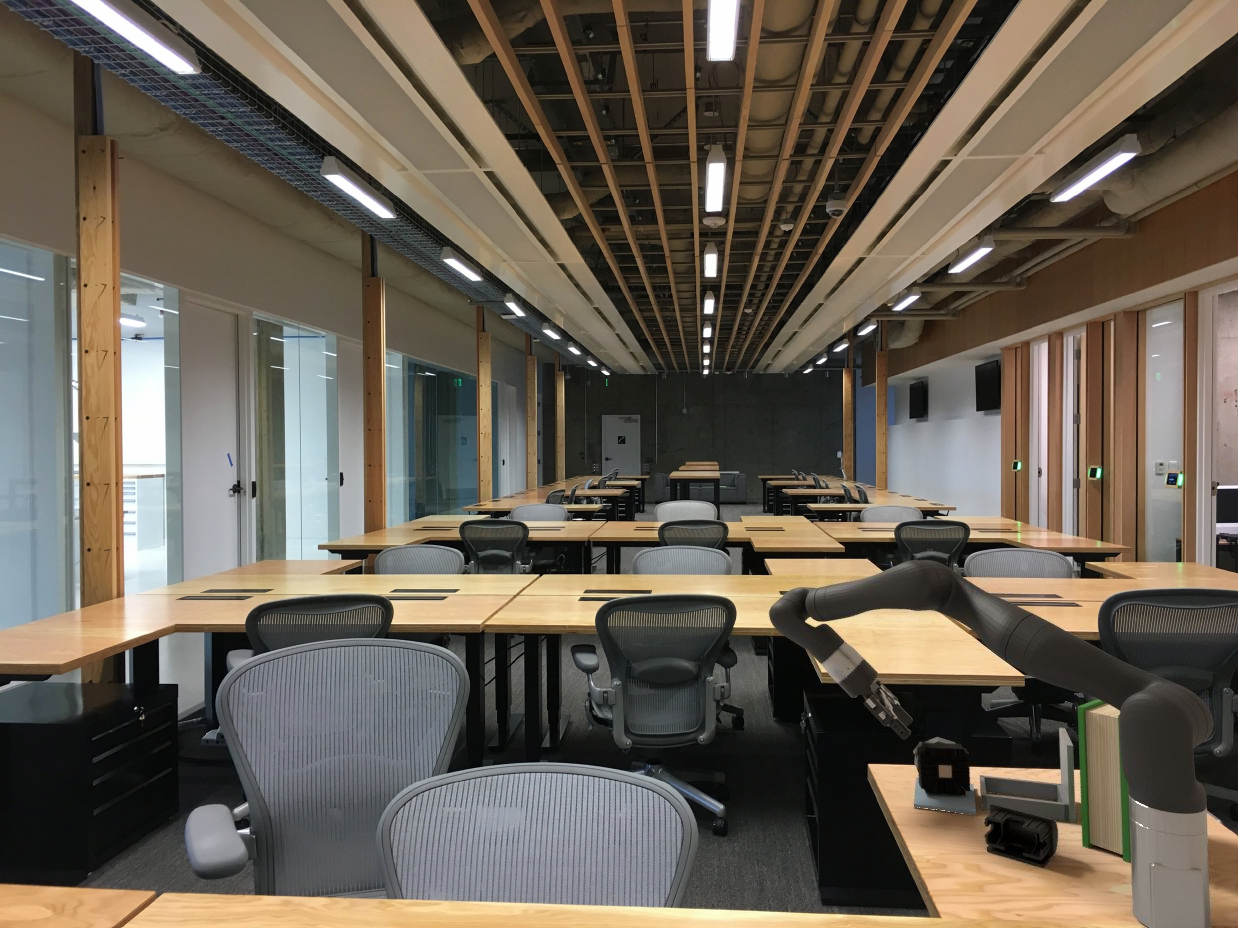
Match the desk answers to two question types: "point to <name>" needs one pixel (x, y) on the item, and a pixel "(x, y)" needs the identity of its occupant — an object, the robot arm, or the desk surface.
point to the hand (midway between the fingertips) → (908, 729)
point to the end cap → (1021, 835)
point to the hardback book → (1103, 780)
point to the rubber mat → (945, 801)
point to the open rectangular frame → (1036, 789)
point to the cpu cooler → (942, 767)
